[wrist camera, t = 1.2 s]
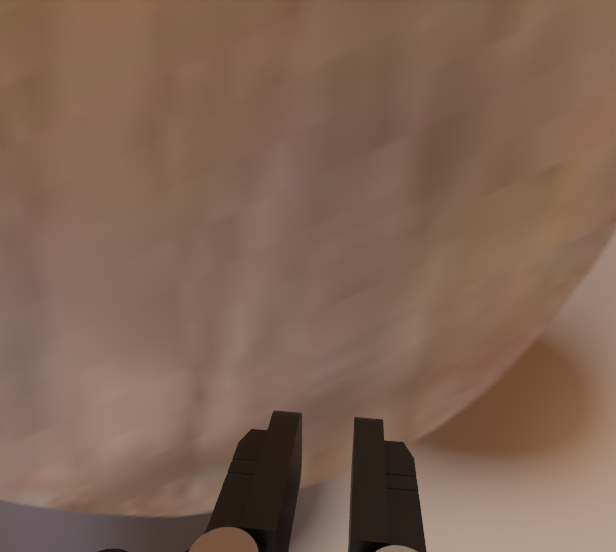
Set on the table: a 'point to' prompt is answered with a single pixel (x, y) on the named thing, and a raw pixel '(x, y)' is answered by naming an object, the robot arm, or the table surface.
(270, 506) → the robot arm
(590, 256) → the table surface
